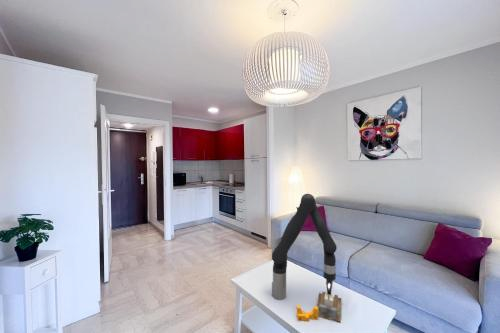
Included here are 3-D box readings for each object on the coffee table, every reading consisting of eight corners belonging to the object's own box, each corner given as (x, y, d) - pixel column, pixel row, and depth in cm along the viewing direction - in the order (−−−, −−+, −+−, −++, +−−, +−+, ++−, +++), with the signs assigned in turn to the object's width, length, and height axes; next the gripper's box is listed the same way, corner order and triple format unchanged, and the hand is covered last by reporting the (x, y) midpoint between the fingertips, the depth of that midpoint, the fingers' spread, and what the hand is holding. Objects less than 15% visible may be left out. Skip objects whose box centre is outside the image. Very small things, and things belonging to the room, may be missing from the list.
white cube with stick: (324, 308, 132) (324, 295, 131) (325, 302, 137) (325, 289, 137) (332, 310, 130) (333, 297, 129) (333, 304, 135) (333, 291, 135)
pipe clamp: (297, 321, 123) (297, 310, 123) (296, 315, 128) (296, 305, 127) (318, 322, 122) (318, 311, 122) (316, 316, 127) (317, 306, 127)
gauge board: (315, 315, 127) (315, 305, 127) (319, 294, 147) (319, 285, 147) (340, 323, 122) (340, 312, 121) (341, 300, 142) (341, 290, 141)
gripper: (324, 264, 145) (323, 289, 146) (322, 274, 133) (322, 301, 134) (336, 266, 142) (335, 292, 143) (335, 276, 130) (335, 304, 131)
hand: (329, 296), depth 138 cm, fingers closed
